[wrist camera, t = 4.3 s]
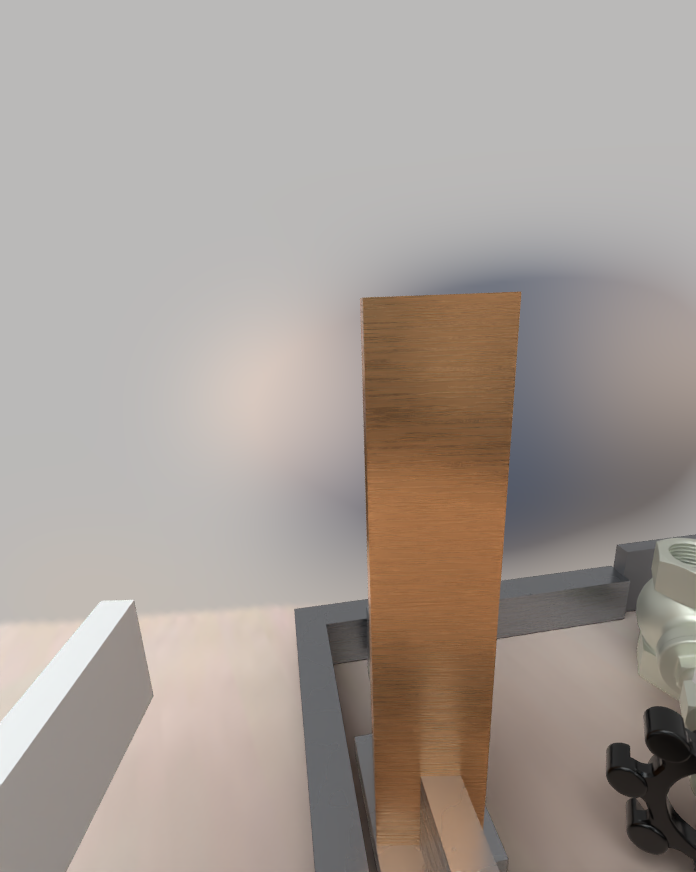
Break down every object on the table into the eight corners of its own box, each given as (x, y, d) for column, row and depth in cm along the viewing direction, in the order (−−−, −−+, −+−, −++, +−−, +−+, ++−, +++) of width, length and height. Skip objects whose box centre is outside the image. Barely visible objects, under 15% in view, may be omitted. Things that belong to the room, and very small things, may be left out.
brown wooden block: (593, 1092, 11) (773, 280, 5) (428, 1146, 10) (455, 291, 5) (418, 664, 23) (421, 296, 18) (340, 677, 22) (321, 300, 17)
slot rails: (1171, 1104, 10) (1229, 1041, 9) (360, 1441, 7) (356, 1388, 7) (605, 602, 27) (611, 565, 26) (297, 648, 24) (294, 609, 24)
